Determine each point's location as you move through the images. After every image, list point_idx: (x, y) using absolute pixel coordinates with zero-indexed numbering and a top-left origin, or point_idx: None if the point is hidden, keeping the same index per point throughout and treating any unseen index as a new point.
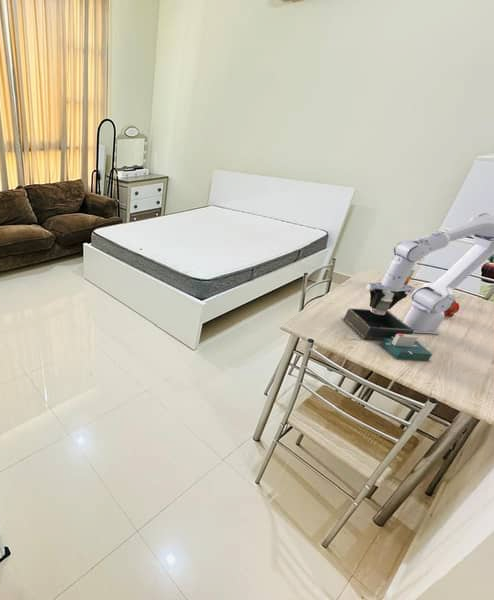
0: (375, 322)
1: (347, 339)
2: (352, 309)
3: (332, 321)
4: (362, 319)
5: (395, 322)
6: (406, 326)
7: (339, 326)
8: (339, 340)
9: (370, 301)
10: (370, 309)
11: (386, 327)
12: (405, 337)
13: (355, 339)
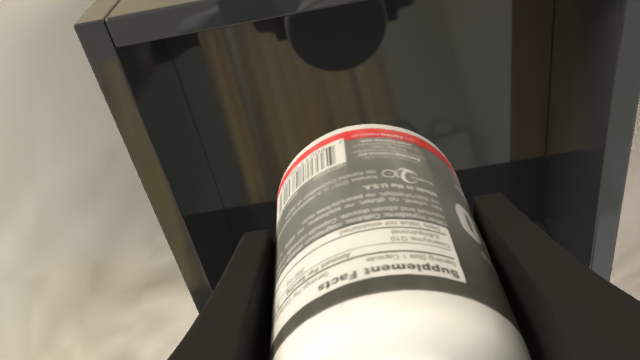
0: None
1: (114, 294)
2: (123, 45)
3: (6, 55)
4: (191, 255)
5: (584, 122)
6: (591, 258)
7: (71, 133)
8: (57, 319)
9: (222, 286)
10: (277, 206)
11: (515, 61)
12: None
13: (171, 280)
